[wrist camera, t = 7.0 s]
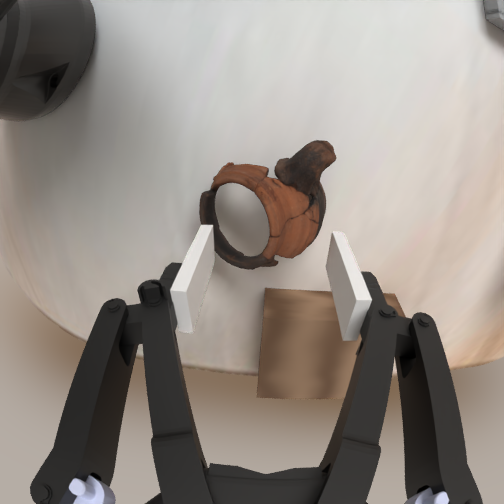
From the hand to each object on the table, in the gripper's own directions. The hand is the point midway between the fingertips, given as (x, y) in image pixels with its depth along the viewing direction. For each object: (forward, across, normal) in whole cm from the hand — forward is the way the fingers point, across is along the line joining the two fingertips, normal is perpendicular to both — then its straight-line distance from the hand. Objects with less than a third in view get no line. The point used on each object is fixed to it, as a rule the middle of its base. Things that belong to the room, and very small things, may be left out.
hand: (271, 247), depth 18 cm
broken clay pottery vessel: (+9, +2, +1) cm, 10 cm away
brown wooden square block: (+8, +7, -17) cm, 21 cm away
